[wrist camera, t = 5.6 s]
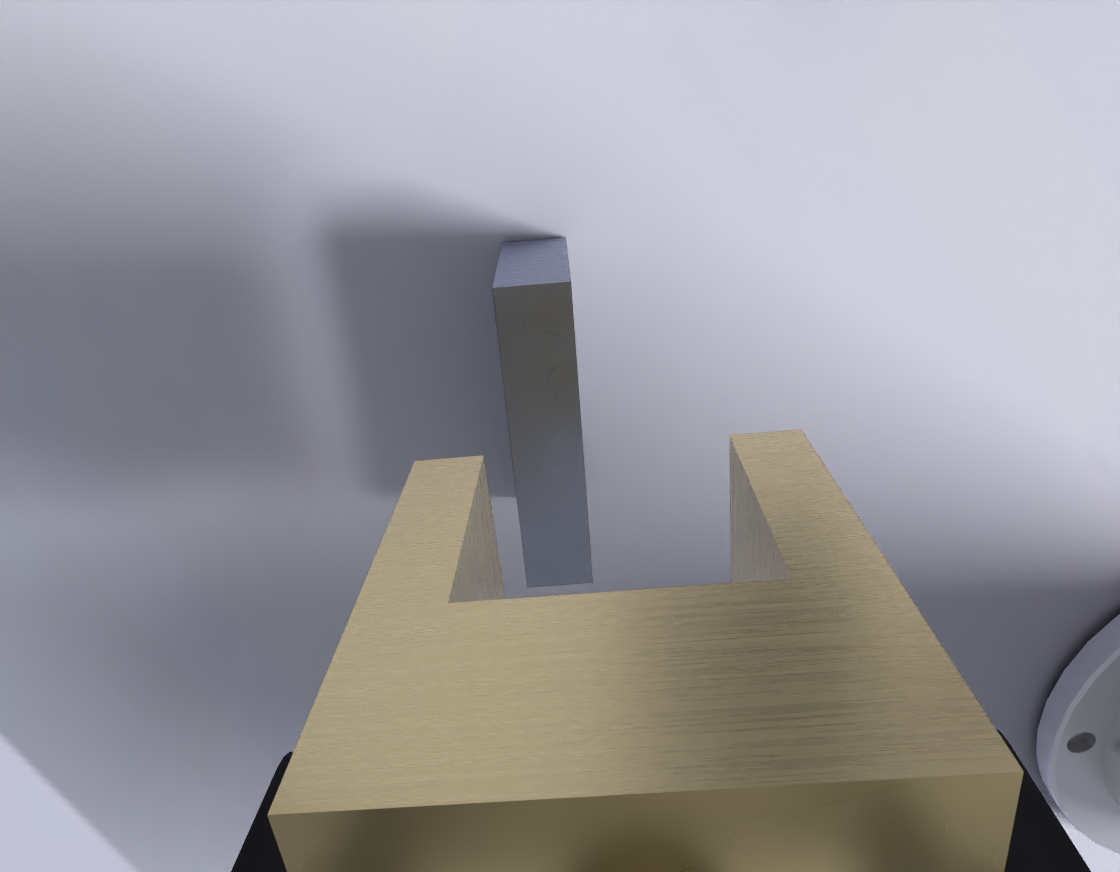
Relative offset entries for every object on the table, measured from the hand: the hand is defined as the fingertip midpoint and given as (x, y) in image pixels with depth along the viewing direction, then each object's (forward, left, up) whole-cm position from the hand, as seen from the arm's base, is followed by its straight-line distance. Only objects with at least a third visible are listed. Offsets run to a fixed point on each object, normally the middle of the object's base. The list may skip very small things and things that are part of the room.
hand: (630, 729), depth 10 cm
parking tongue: (+1, -1, -11) cm, 11 cm away
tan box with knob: (0, 0, -2) cm, 2 cm away
